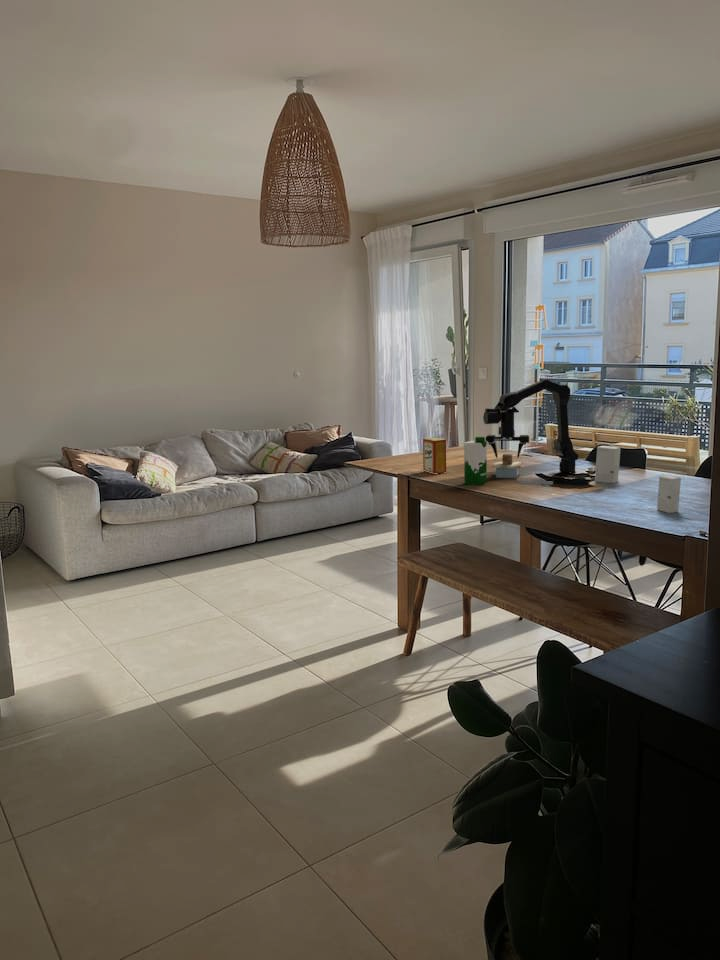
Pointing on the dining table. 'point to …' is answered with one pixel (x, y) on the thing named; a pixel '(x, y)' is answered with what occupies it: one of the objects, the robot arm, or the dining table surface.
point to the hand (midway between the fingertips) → (507, 458)
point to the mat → (534, 481)
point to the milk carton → (475, 461)
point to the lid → (507, 462)
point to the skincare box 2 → (668, 494)
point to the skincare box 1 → (607, 464)
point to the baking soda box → (434, 455)
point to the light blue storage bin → (506, 472)
